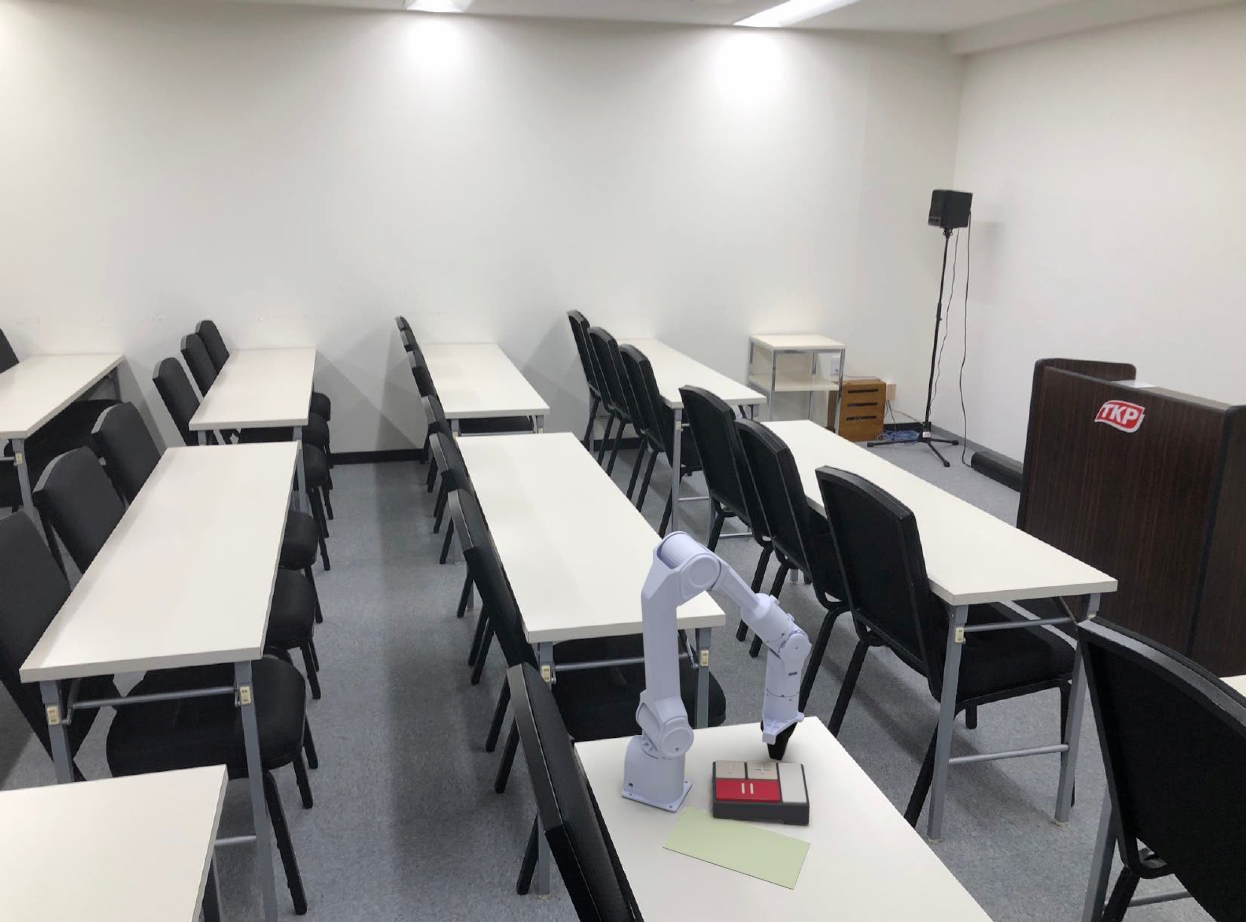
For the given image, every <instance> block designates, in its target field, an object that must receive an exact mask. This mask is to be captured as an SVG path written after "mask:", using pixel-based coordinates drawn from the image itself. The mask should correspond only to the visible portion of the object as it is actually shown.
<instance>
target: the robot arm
mask: <svg viewBox="0 0 1246 922" xmlns="http://www.w3.org/2000/svg"><path fill="white" fill-rule="evenodd" d="M648 571H649V572H648V573H647V576H646V578H645V581H644V583H643V585H642V588H641V590H640V591H641V592H640V603H641V604H640V606H641V607H640V608H641V620H642V621H641V623H642V624H641V625H642V637H643V639H642V640H643V641H642V642H643V655H644V657H643V659H644V672H645V673H644V674H645V688H646V689H644V690H643V691H641V692H640V694H639V698H640V699H639V703H638V704H639V705H638V706H637V709H636V711H635V720H636V723H637V724H638V726H640V728H641V731H642V732H641V733H642V734H641V735H639V734H638V735H637V734H634V736H632V738H631V739H630V741H629V743H628V745H627V748H626V752H625V756H624V765H623V766H624V768H623V770H624V771H623V790H622V792H621V796H622V797H624V798H628V799H630V800H634V801H637V802H640V803H644V804H647V805H650V806H653V807H657V808H660V809H662V810H667V811H669V812H673V813H674V812H677V811H678V809H679V808H680V807H681V804H682V802H683V801H684V800H685V798H686V796H687V794H688V793H689V790H690V789H691V787H692V785H693V782H692V781H691V780H687V779H685V772H686V771H685V769H686V753H687V752H688V751H689V750H690V749H691V747H692V745H693V744H694V740H695V734H694V733H695V732H694V730H693V728H692V727H691V725H690V724H689V720H688V713H687V710H686V708H685V704H684V703H683V700H682V696H681V683H680V679H681V678H680V661H679V657H680V656H679V640H678V639H679V637H678V619H677V618H678V617H677V614H678V613H677V608H678V607H680V606H683V605H684V604H686V603H687V602H689V601H691V600H693V599H694V598H695V597H697V596H698V595H701V594H702V593H703V592H705V591H707V590H708V589H710V590H711V591H716V590H717V589H718V588H720V589H721V590H722V591H723V592H724V593H725V594H726V595H727V596H729V598H731V600H733V601H734V602H735V604H737V605H738V606H739V607H740V619H741V620H742V621H743V623H745V625H746V626H747V627H749V628H750V629H751V630H752V632H754V633H755V634H756V635H757V636H758V637H759V638H760V639H761V641H762V643H764V644H766V646H767V647H768V648H767V657H766V658H767V659H766V670H765V671H766V672H765V682H764V683H765V685H764V696H763V706H762V708H761V717H762V719H761V721H760V724H759V725H760V726H759V728H760V730H761V732H762V739H761V741H762V743H765V744H766V745H767V751H768V757H769V759H771V760H774V761H779V762H782V760H783V758H784V755H785V753H786V751H787V746H788V743H789V740H790V738H791V736H792V735H793V734H794V732H795V730H796V728H797V725H798V723H803V722H804V720H805V714H804V713H803V712H799V700H800V691H801V690H800V689H801V688H800V687H801V679H802V678H801V677H802V668H804V663H805V661H806V658H807V657H808V656H809V654H810V652H811V649H812V643H810V640H809V635H808V634H807V632H805V631H804V630H803V629H802V628H800V627H799V626H798V625H797V624H796V623H794V621H795V617H794V616H792V615H791V614H790V613H786V612H785V611H784V610H783V609H782V608H781V607H780V606H779V605H780V603H781V602H780V601H779V600H778V599H777V598H776V597H775V596H774V595H773V594H770V595H768V594H766V593H763V592H758V593H755V592H754V591H753V590H752V588H750V585H749V586H748V584H747V583H746V582H745V580H743V579H742V577H741V576H740V575H739V574H738V573H737V572H736V570H734V568H732V567H731V565H729V564H728V563H727V562H726V561H725V560H723V559H722V558H721V557H720V556H718V555H717V554H716V553H715V552H713V551H711V550H710V549H709V548H707V547H706V546H705V545H703V544H702V543H700V542H699V541H696V540H695V539H694V538H693V537H692V536H691V534H689V533H687V532H685V531H681V530H679V531H674V532H670V533H669V534H667V535H666V536H665V537H664V538H663V539H662V540H660V542H658V544H657V545H656V546H655V547H653V549H652V564H651V566H650V569H649V570H648Z"/></svg>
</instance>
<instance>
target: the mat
mask: <svg viewBox="0 0 1246 922" xmlns="http://www.w3.org/2000/svg"><path fill="white" fill-rule="evenodd" d="M810 845H811V842H808V841H806V840H805V841H804V840H801V839H798V838H795V837H792V836H788V835H785V834H782V833H779V832H775V831H771V830H769V829H765V828H762V827H759V826H755V825H752V824H749V823H745V822H741V821H739V820H737V819H729V818H714V817H713V812H709V811H706V810H702V809H700V808H695V807H692V806H689V805H686V806H685V808H684V810H683V812H682V814H681V815H680V817H679V819H678V820H677V821H676V823H675V825H674V827H673V828H672V831H671V832H670V834H669V836H668V837H667V839H666V841H665V842H664V844H663V846H662V848H664V849H666V850H671V851H673V852H675V853H680V854H681V855H686V856H688V857H691V858H695V859H697V860H700V861H704V862H706V863H710V864H713V865H715V866H716V865H717V866H719V867H722V868H726V869H729V870H731V871H735V872H738V873H741V874H743V875H747V876H751V877H753V878H757V879H759V880H762V881H766V882H768V883H771V884H775V885H778V886H780V887H784V888H787V889H791V890H794V888H795V885H796V883H797V880H798V877H799V874H800V871H801V869H802V866H803V864H804V861H805V858H806V856H807V853H808V850H809V847H810Z"/></svg>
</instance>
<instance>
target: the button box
mask: <svg viewBox="0 0 1246 922" xmlns="http://www.w3.org/2000/svg"><path fill="white" fill-rule="evenodd" d="M804 767H805V766H804V765H803V764H802V763H798V762H796V763H795V762H776V761H766V760H765V761H763V760H748V761H744V760H728V759H727V760H725V759H716V760H715V761H713V762H712V813H713V817H714V818H729V819H732V820H759V821H760V820H761V821H767V820H768V821H780V822H781V823H783V824H786V825H788V824H789V825H809V824H810V810H811V809H810V808H811V807H810V805H811V804H810V799H809V798H810V797H809V793H808V786H807V780H806V774H805V768H804Z"/></svg>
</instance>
